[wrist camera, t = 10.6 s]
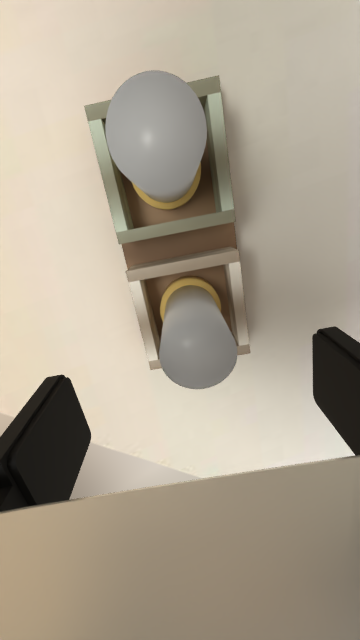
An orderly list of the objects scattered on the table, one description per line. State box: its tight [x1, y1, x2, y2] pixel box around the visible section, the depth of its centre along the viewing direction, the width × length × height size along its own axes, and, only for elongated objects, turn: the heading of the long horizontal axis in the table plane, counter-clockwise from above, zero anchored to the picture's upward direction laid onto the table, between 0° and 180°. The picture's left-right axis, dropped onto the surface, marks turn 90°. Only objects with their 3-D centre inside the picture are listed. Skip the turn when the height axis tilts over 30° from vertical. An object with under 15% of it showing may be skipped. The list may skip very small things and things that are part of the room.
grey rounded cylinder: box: [159, 275, 237, 389], centre depth 19 cm, size 5×5×10 cm
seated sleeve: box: [105, 71, 207, 210], centre depth 16 cm, size 5×5×10 cm
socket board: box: [84, 76, 250, 370], centre depth 21 cm, size 20×9×4 cm, turn 11°
